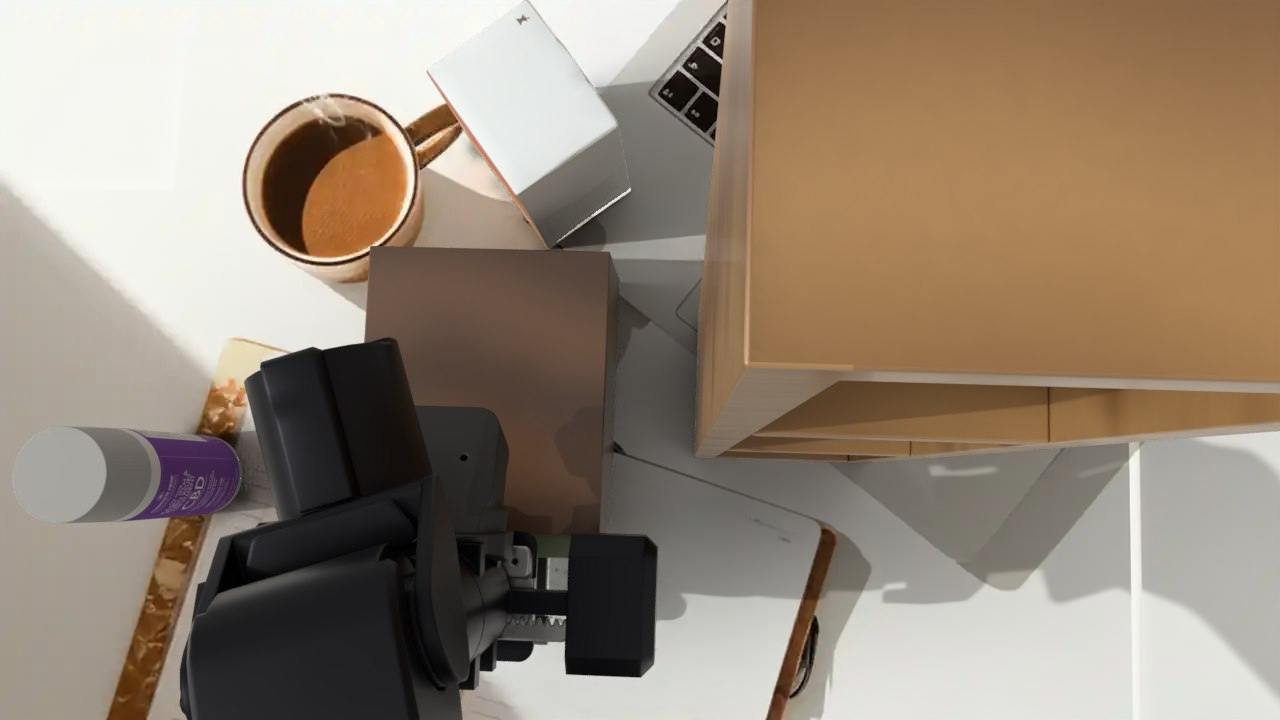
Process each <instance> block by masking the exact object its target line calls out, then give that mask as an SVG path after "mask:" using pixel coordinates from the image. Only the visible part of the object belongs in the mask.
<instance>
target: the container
mask: <svg viewBox="0 0 1280 720" xmlns="http://www.w3.org/2000/svg"><path fill="white" fill-rule="evenodd" d="M237 457H238V458H237ZM238 459H239V460H238ZM14 460H15V461H14V464H13V468H12V477H11V478H12V479H11V480H12V481H11V482H12V487H13V492H14V495H15V497H16V500H17V501H18V503H19V505H20V506H21V508H22V509H23V510H24V511H25V512H26V513H27V514H28V515H30V516H31V517H33V518H34V519H36V520H38V521H40V522H43V523H47V524H54V525H57V524H58V525H60V524H90V523H120V522H123V523H124V522H132V521H133V522H134V521H145V520H157V519H168V518H169V519H170V518H181V517H192V516H193V517H195V516H203V515H204V516H205V515H211V514H214V513H217V512H219V511H221V510H223V509H225V508H226V507H228V506H229V505H230V504H231V503H232V502H233V500H234V499H235V498H236V496H237V495H238V493H239V491H240V489H241V486H242V483H243V477H244V476H243V475H244V472H243V470H244V469H243V465H242V461H241V458H240V456H239V454H238V453H237V450H235V449H234V447H233V446H232V445H231V444H230V443H229V442H227V441H225V440H224V439H222V438H219V437H216V436H213V435H205V434H195V433H194V434H192V433H182V432H171V431H170V432H169V431H158V430H148V429H147V430H146V429H137V428H136V429H135V428H125V427H124V428H122V427H97V426H72V425H71V426H68V425H67V426H66V425H59V426H53V427H49V428H46V429H44V430H43V429H42V430H41V431H39V432H37V433H35V434H34V435H33V436H32V437H31V438H29V439H28V440H27V441H26V442H25V444H24V445H23V446H22V447H21V449H20V450H19V452H18V454H17V455H16V458H15V459H14ZM240 478H241V479H240Z"/></svg>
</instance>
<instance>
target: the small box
mask: <svg viewBox="0 0 1280 720" xmlns="http://www.w3.org/2000/svg"><path fill="white" fill-rule="evenodd" d="M426 73H427V76H428V77H429V79H430V80H431V82H432V84H433V85H434V86H435V88H436V89H437V91H438V92H439V94H440V95H441V97H442V98H443V100H444V102H445V103H446V105H447V106H448V108H449V109H450V111H451V113H452V115H453V116H454V117H455V119H456V120H457V122H458V123H459V125H460V126H461V128H462V130H463V132H464V133H465V135H466V137H467V139H468V140H469V142H470V143H471V144H472V146H473V147H474V149H475V150H476V152H477V153H478V154H479V155H480V157H481V159H483V161H484V163H486V165H487V166H488V168H489V169H490V171H491V172H492V173H493V174H494V176H495V177H496V179H497V180H498V182H499V183H500V184H501V185H502V187H503V188H504V189H505V191H506V192H507V194H508V195H509V196H510V198H511V199H512V201H513V202H514V203H515V205H516V206H517V207H518V209H519V211H520V212H521V213H522V215H523V216H524V217H525V219H526V220H527V221H528V222H529V224H530V226H531V227H532V228H533V230H534V231H535V233H536V234H537V235H538V237H539V238H540V240H541V241H542V243H543V244H544V246H545V247H546V248H547V249H548V250H551V248H554V247H555V246H556V245H557V244H556V242H557V241H558V240H559V239H561V238H562V237H563V236H564V235H566V234H567V233H568V232H569V231H571V230H572V229H574V228H575V227H576V226H577V225H578V224H580V223H581V222H583V221H584V220H585V219H587V218H588V217H590V216H591V215H592V214H594V213H595V212H596V211H598V210H599V209H601V208H602V207H604V206H605V205H607V204H608V203H609V202H611V201H612V200H614V199H615V198H617V197H618V196H620V195H621V194H622V193H624V192H626V191H627V190H628V189H629V188H630V186H631V181H630V177H629V172H628V170H629V169H628V165H627V160H626V154H625V149H624V144H623V139H622V134H621V128H620V123H619V121H618V119H617V118H616V116H615V115H614V114H613V112H612V111H611V110H610V107H608V105H607V104H606V102H605V101H604V100H603V98H602V96H601V95H600V94H599V92H598V91H597V89H596V88H595V87H594V86H593V84H592V82H591V81H590V79H589V78H588V77H587V75H586V74H585V72H584V71H583V70H582V68H581V67H580V65H579V64H578V62H577V61H576V59H575V58H574V56H573V55H572V54H571V53H570V51H569V50H568V49H567V46H565V44H563V42H562V41H561V40H560V38H558V36H557V35H556V34H555V32H554V31H553V30H552V29H551V27H550V26H549V25H548V23H547V22H546V20H545V19H544V18H543V17H542V15H541V14H540V13H539V12H538V10H537V9H536V8H535V6H534V5H533V4H532V2H531V1H530V0H522V1H521V2H520V3H518V4H517V5H515V6H514V7H513V8H511V9H510V10H509V11H508V12H506V13H504V14H503V15H502V16H500V17H498V19H495V21H493V22H492V23H489V25H488V26H485V27H484V28H483V29H482V30H480V31H478V32H477V33H476V34H474V35H473V36H472V37H471V38H469V39H468V40H466V41H465V42H463V43H462V44H461V45H459V46H458V47H456V48H455V49H453V50H452V51H450V52H449V53H448V54H445V56H443V57H442V58H440V59H439V60H438V61H436V62H435V63H434V64H432V65H430V66H429V67H428V68H427V69H426Z"/></svg>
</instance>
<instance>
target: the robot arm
mask: <svg viewBox="0 0 1280 720" xmlns="http://www.w3.org/2000/svg"><path fill="white" fill-rule="evenodd" d="M259 369H260V370H257V371H255V372H254V373H252V374H251V375H249V376H247V377H246V378H245V379H244V381H243V385H244V388H245V393H246V396H247V397H246V398H247V400H248V404H249V409H250V412H251V416H252V421H253V425H254V428H255V432H256V436H257V441H258V445H259V448H260V449H259V450H260V452H261V457H262V461H263V464H264V469H265V472H266V476H267V481H268V484H269V488H270V492H271V497H272V500H273V504H274V508H275V513H276V517H277V520H273V521H272V520H271V521H264V522H258V523H257V525H256V526H255V527H252V528H248V529H245V530H244V529H243V530H241V531H238V532H235V533H230V534H228V535H224V536H220V537H219V539H218V542H217V545H216V548H215V551H214V554H213V558H212V560H211V563H210V567H209V570H208V573H207V576H206V579H205V581H203V582H199V583H197V586H196V592H195V598H194V606H193V609H192V610H193V611H192V616H191V624H190V628H189V633H188V636H187V639H186V642H185V646H184V649H183V651H182V655H181V661H180V666H179V691H180V694H179V707H180V710H181V713H183V715H185V718H186V720H464V719H463V709H462V701H461V691H475V690H476V689H477V688H478V687H479V686H480V672H486V673H489V672H490V673H492V672H494V671H495V670H496V669H497V662H507V663H508V662H511V663H522V662H525V661H526V660H528V659H529V658H530V657H531V655H532V654H533V652H534V648H535V645H534V641H540V642H548V643H564V657H563V658H564V668H565V669H564V670H565V675H567V676H588V677H589V676H591V677H612V678H613V677H614V678H637V679H638V678H639V679H641V678H642V677H643V676H645V674H646V673H647V672H648V671H649V670H651V668H652V667H653V666H654V665H655V660H656V637H657V633H656V632H657V604H658V602H657V601H658V573H659V570H658V568H659V546H658V545H657V544H656V543H655V542H654V541H653V539H651V537H650V536H649V535H648V534H646V533H616V532H605V533H593V532H589V533H572V534H571V540H570V548H569V555H568V558H567V580H566V581H567V582H566V589H550V588H549V589H548V588H547V589H537V567H538V548H537V541H536V539H535V537H534V536H533V535H532V534H530V533H528V532H524V531H510V530H506V526H507V508H506V507H505V506H504V505H503V502H504V492H505V483H506V473H507V465H508V461H509V447H508V444H507V441H506V439H505V436H504V433H503V430H502V428H501V425H500V422H499V419H498V417H497V416H496V415H495V414H494V413H493V412H492V411H491V410H489V409H486V408H482V407H459V406H426V405H415V404H414V401H413V397H412V393H411V389H410V386H409V382H408V378H407V375H406V371H405V367H404V363H403V360H402V356H401V352H400V349H399V345H398V342H397V340H396V339H394V338H391V337H387V338H382V339H378V340H375V341H372V342H366V343H364V342H359V343H352V344H345V345H340V346H334V347H329V348H324V349H321V348H318V347H315V346H310V347H307V348H303V349H300V350H297V351H294V352H290V353H287V354H283V355H280V356H276V357H273V358H270V359H266V360H262V361H260V365H259ZM535 615H545V616H555V617H557V618H554V620H553V623H552V622H551V618H550V619H549V618H547V619H546V621H545V623H544V624H542V620H541V618H538V619H537V621H536V624H535ZM558 617H565V618H563V620H562V623H561V622H560V619H559V618H558ZM560 623H561V624H560Z"/></svg>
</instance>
